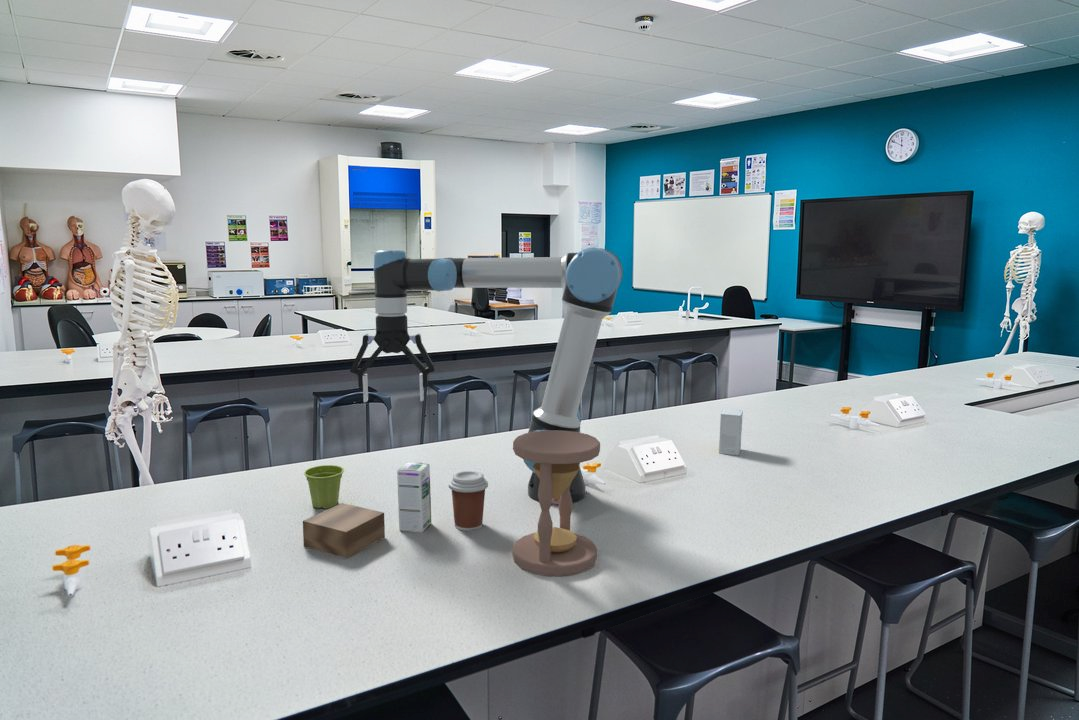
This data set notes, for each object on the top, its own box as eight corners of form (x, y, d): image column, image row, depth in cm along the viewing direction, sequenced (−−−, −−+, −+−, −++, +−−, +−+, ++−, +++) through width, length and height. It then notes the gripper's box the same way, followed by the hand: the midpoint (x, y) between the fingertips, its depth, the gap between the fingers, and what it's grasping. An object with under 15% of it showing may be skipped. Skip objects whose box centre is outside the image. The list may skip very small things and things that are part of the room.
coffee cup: (451, 535, 155) (451, 483, 153) (446, 519, 164) (445, 470, 162) (491, 531, 157) (492, 480, 156) (484, 516, 166) (484, 467, 164)
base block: (384, 538, 153) (384, 512, 152) (346, 559, 143) (346, 531, 142) (343, 528, 159) (342, 502, 158) (303, 547, 148) (302, 520, 147)
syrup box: (422, 533, 156) (421, 470, 154) (398, 530, 157) (396, 468, 155) (431, 523, 161) (430, 463, 159) (407, 521, 163) (406, 461, 160)
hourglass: (570, 585, 133) (573, 458, 129) (495, 562, 142) (496, 444, 138) (611, 552, 147) (614, 437, 143) (541, 533, 156) (542, 425, 152)
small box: (720, 447, 227) (723, 408, 225) (740, 449, 225) (743, 409, 223) (718, 453, 220) (720, 413, 218) (739, 456, 218) (741, 415, 216)
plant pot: (352, 504, 173) (351, 470, 171) (317, 514, 166) (316, 479, 164) (332, 495, 179) (331, 462, 178) (298, 504, 172) (296, 470, 171)
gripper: (443, 313, 173) (445, 396, 176) (341, 313, 171) (344, 398, 174) (442, 315, 166) (444, 402, 169) (335, 316, 163) (339, 404, 166)
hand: (394, 400), depth 171 cm, fingers open, 13 cm apart
